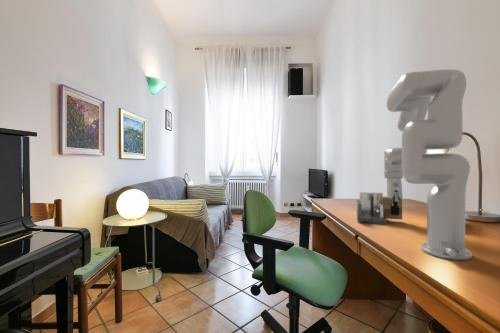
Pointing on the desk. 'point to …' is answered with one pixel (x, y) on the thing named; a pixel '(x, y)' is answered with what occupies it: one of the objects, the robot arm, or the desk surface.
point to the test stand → (369, 208)
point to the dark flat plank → (372, 207)
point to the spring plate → (380, 210)
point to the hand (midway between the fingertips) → (393, 213)
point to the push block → (387, 208)
